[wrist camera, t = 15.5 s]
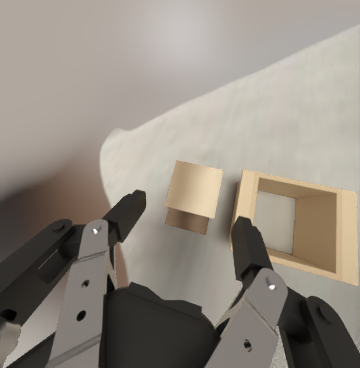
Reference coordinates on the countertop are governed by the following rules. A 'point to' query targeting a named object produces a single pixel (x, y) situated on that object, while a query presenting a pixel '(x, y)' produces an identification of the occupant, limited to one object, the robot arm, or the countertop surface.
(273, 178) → the carton
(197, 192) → the block
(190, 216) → the walnut board
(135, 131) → the countertop surface
